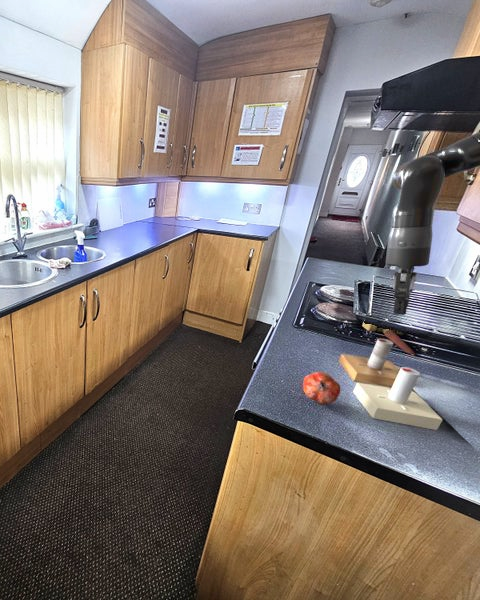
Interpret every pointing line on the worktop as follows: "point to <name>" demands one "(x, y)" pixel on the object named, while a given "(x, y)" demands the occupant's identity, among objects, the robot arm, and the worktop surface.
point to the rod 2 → (403, 385)
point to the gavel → (391, 337)
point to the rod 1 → (380, 354)
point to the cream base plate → (396, 407)
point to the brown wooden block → (369, 371)
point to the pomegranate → (321, 388)
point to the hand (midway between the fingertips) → (400, 310)
